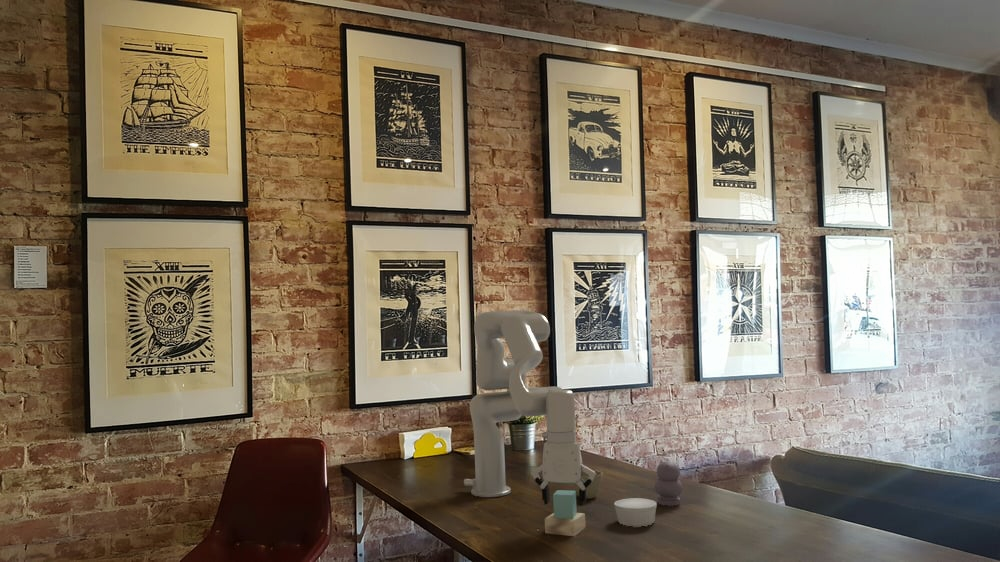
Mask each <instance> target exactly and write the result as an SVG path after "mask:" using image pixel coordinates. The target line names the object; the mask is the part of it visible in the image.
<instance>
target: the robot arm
mask: <svg viewBox="0 0 1000 562" xmlns="http://www.w3.org/2000/svg"><path fill="white" fill-rule="evenodd" d="M473 326H474V327H473V329H474V331H473V332H474V336H475V341H476V346H477V354H476V373H475V375H476V377H475V379H476V385H477V387H478V388H479V389H481V390H483V391H492V392H483V393H479V394H476V395H475V396H473V397H472V399H471V400H470V402H469V412H470V416H471V417H470V418H471V423H472V429H473V443H474V444H473V445H474V466H475V467H474V468H475V473H474V474H475V478H473V479H470V478H464V480H463V485H464V486H465V487H472V488H471V491H470V492H471V493H470V494H471V495H472V496H475V497H478V496H479V497H478V498H497V497H503V496H507V495H509V494H510V493H511V487H510V486H508V485H507V482H506V461H505V460H506V458H505V438H504V435H503V432H502V430H501V429H500V428H499V427H498V426H497V423H501V422H513V421H517V420H519V419H521V418H522V416H523V417H527V418H528V417H538V416H539V417H541V416H546V431H545V432H542V433H541V438H543V439H545V440H546V442H544V444H543V451H542V464H541V465H539V466H538V467H535V468H534V469H532V470H531V471H530V474H531V476H532V478H533V480H534V482H535V483H536V484H537V485H538V486H539V487H540V489H541V498H542V501H543V503H544V505H548V504H549V503H550V502H551V501H550V499H551V497H550V487H549V484H550V483H558V484H559V483H560V484H563V483H565V484H572V483H577V485H578V486H579V487H580V490H579V496H578V502H579V506H581V507H582V506H583V505H585V502H587V499H586V488H587V487H588V486H589V485H590V484H591V482H592V481H593V479H594V477H595V475H596V472H595V471H596V470H595V471H593V469H591V468H589V467H588V466H586V465H584V464H583V458H582V453H581V447H580V443H579V441H577V433H576V431H577V430H576V408H575V407H576V406H575V405H576V404H575V394H574V392H573V391H572V390H570V389H566V388H565V389H563V388H562V387H561V386H560V387H559V386H541V387H540V386H539V387H528V388H526V373H528V372H530V371H532V370H533V369H535V368H536V367H538V365H540V364H541V362H543V361H542V360H543V358H544V355H543V351H542V349H541V347H540V344H539V343H538V342H545V341H547V339H548V338H549V337H550V334H551V327H550V322H549V321H548V319H547V318H546V317H545V315H543V314H542V313H540V312H534V311H529V310H495V311H494V310H493V311H491V310H490V311H485V312H482V313H479V314H478V315H477V316H476V318H475V320H474V325H473ZM502 339H504V341H505V344H506V346H507V349H508V351H509V353H510V356H511V358H505V345H504V343H503V341H502ZM497 390H506V391H497ZM494 391H496V392H494ZM583 472H585V473H586V474H588V475H589V477H588V479H587V481H586V482H585V481H584V480H583V479H582V477H583ZM539 473H542V478H541V477H540V475H539Z"/></svg>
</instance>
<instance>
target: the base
mask: <svg viewBox="0 0 1000 562" xmlns="http://www.w3.org/2000/svg"><path fill="white" fill-rule="evenodd" d="M585 527H587V525H586V513H583V512H577V514H576V516H575V517H574V519H560V518H554V512H553V513H551V514H550V515H548V516H547V517H545V518H544V530H545V531H544V533H545V534H550V535H560V536H569V537H575V536H576V535H578V534H579V533H581V532H582V531H583V530H585V529H586V528H585ZM581 530H582V531H581Z"/></svg>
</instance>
